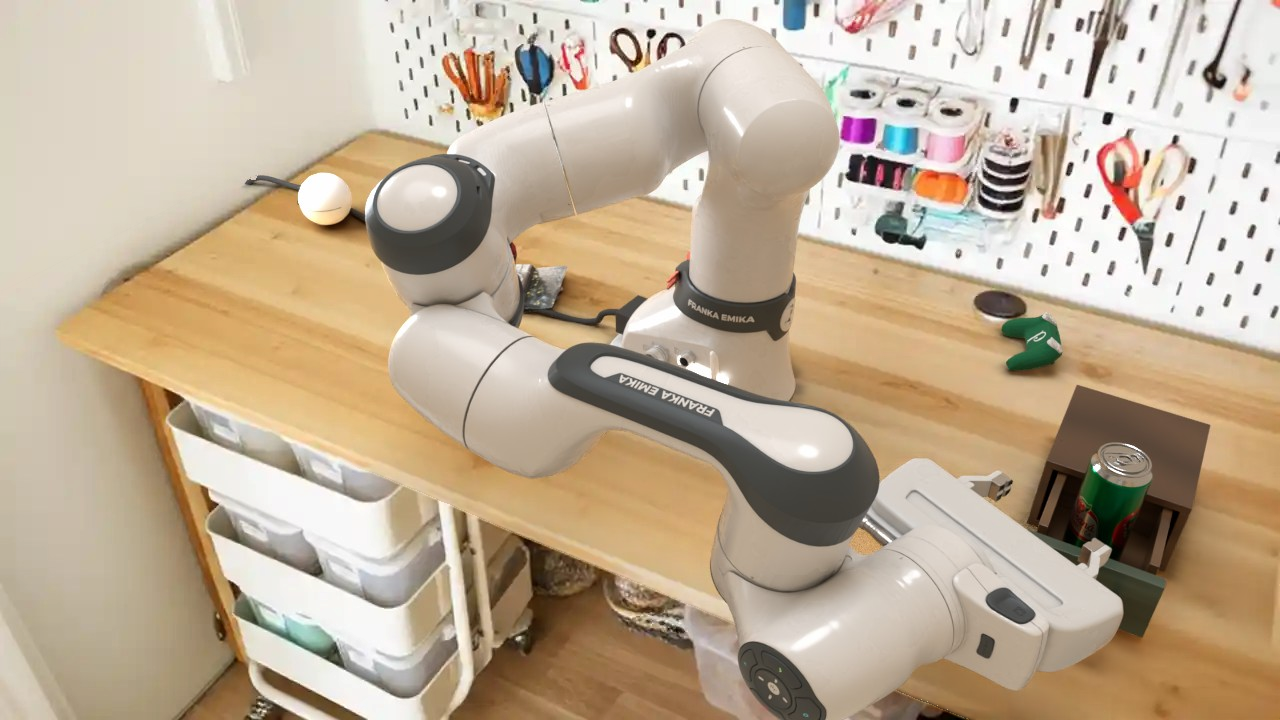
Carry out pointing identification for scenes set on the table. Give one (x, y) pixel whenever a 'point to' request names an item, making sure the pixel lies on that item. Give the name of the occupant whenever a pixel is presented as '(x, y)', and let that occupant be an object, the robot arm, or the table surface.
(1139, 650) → the table surface
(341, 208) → the white egg shape
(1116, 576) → the drawer
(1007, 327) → the gaming controller
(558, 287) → the statue
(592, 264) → the table surface
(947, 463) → the table surface
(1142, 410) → the cabinet
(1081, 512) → the soda can
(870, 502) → the robot arm
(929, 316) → the table surface
